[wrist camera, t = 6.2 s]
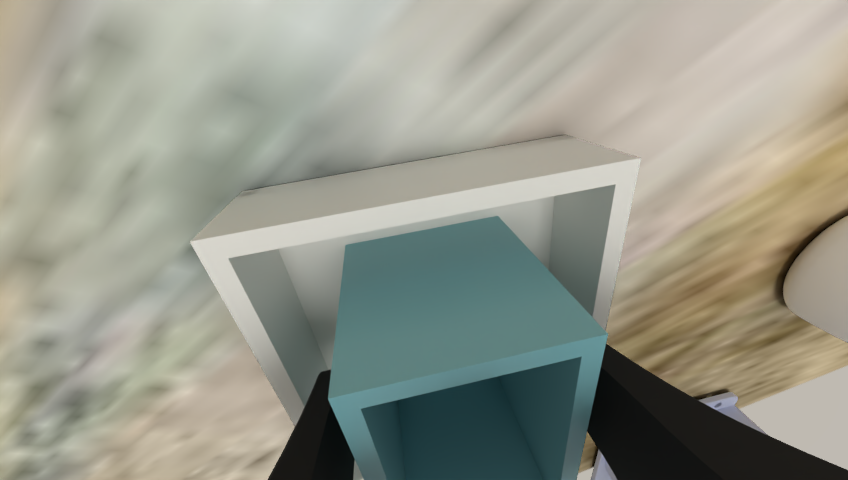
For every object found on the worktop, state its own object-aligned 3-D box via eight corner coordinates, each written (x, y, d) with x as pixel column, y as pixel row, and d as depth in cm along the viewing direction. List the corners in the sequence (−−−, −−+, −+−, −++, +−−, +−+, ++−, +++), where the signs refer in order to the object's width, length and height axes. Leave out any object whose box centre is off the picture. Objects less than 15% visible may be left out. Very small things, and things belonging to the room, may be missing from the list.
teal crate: (497, 215, 12) (608, 333, 6) (500, 362, 15) (569, 511, 10) (345, 244, 11) (328, 398, 6) (387, 389, 15) (399, 559, 10)
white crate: (565, 134, 11) (641, 158, 8) (545, 365, 17) (585, 429, 14) (242, 191, 10) (189, 241, 7) (339, 414, 16) (333, 494, 13)
